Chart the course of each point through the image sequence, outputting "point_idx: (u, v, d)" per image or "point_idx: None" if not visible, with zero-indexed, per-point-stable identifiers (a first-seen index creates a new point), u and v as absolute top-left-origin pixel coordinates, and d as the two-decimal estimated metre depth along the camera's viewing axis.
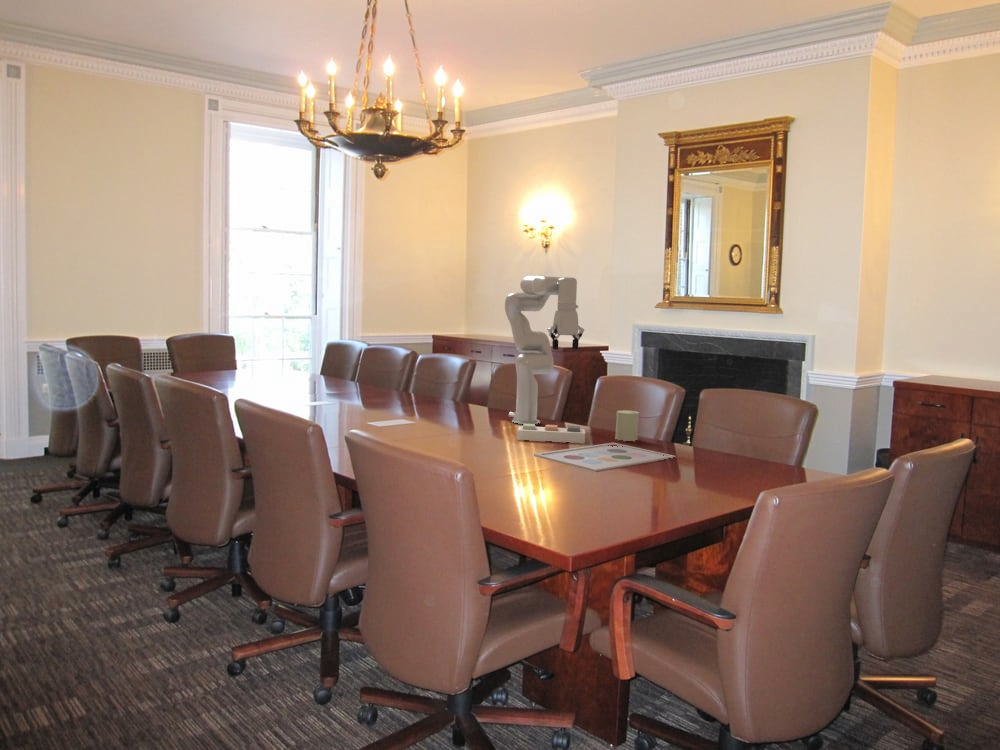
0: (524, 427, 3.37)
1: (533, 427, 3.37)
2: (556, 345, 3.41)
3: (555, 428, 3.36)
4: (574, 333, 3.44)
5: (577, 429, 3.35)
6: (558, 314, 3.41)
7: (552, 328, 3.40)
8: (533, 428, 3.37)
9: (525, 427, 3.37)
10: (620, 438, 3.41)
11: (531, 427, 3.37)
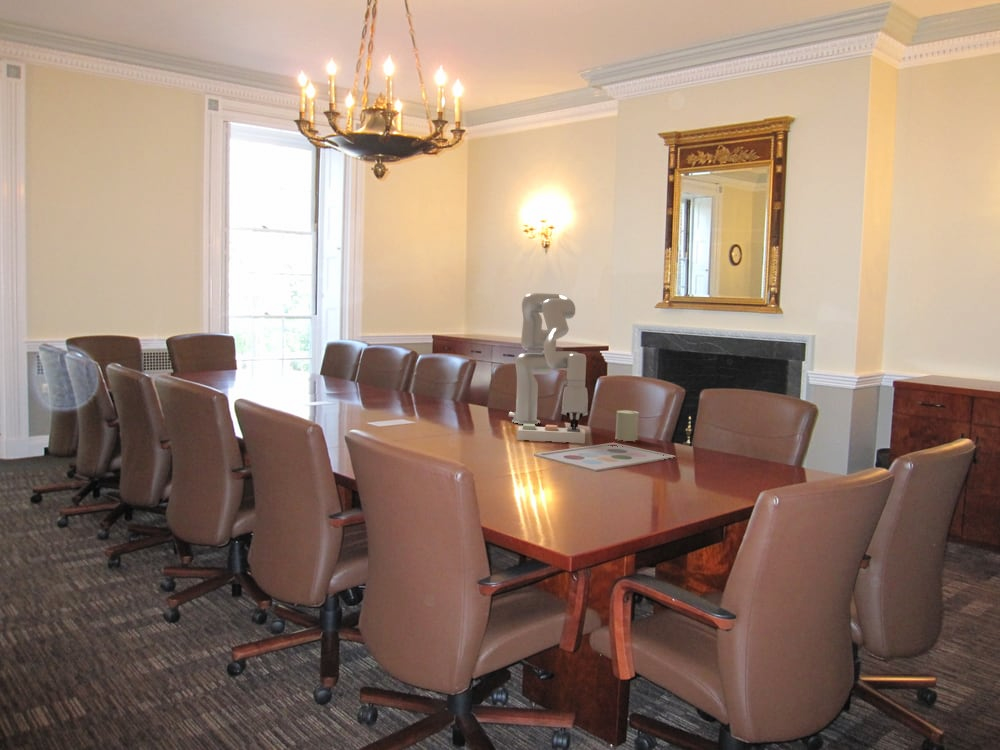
0: (524, 427, 3.37)
1: (533, 427, 3.37)
2: None
3: (555, 428, 3.36)
4: None
5: (577, 431, 3.36)
6: None
7: None
8: (533, 428, 3.37)
9: (525, 427, 3.37)
10: (620, 438, 3.41)
11: (531, 427, 3.37)
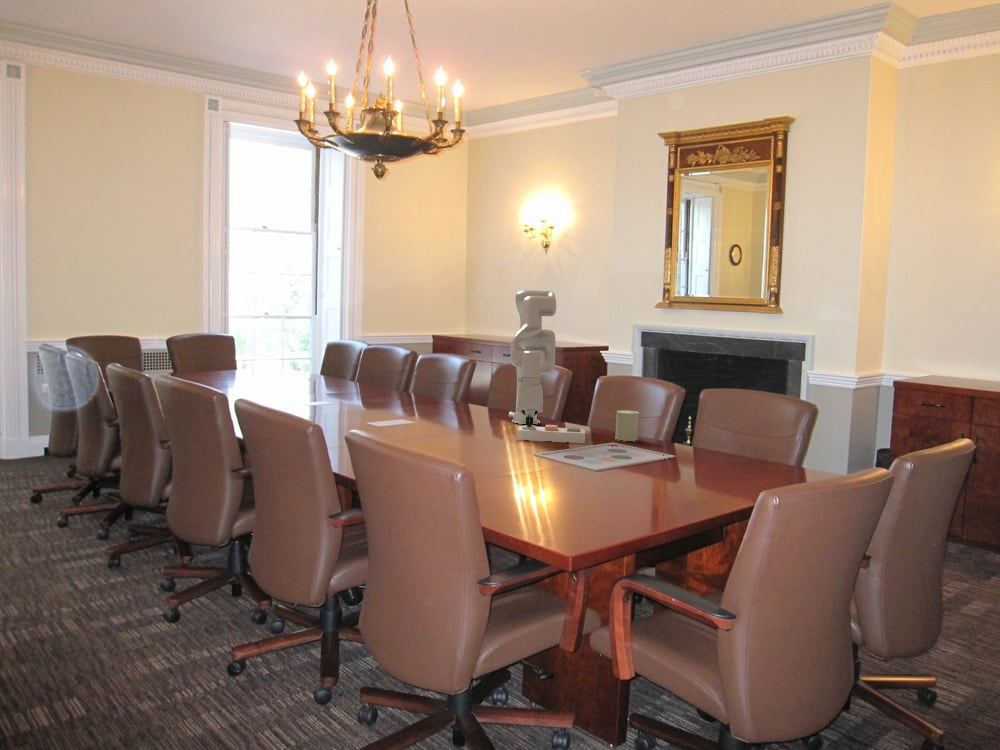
0: None
1: (533, 429, 3.37)
2: None
3: (555, 428, 3.36)
4: None
5: (577, 431, 3.36)
6: None
7: None
8: None
9: None
10: (620, 438, 3.41)
11: (531, 429, 3.37)
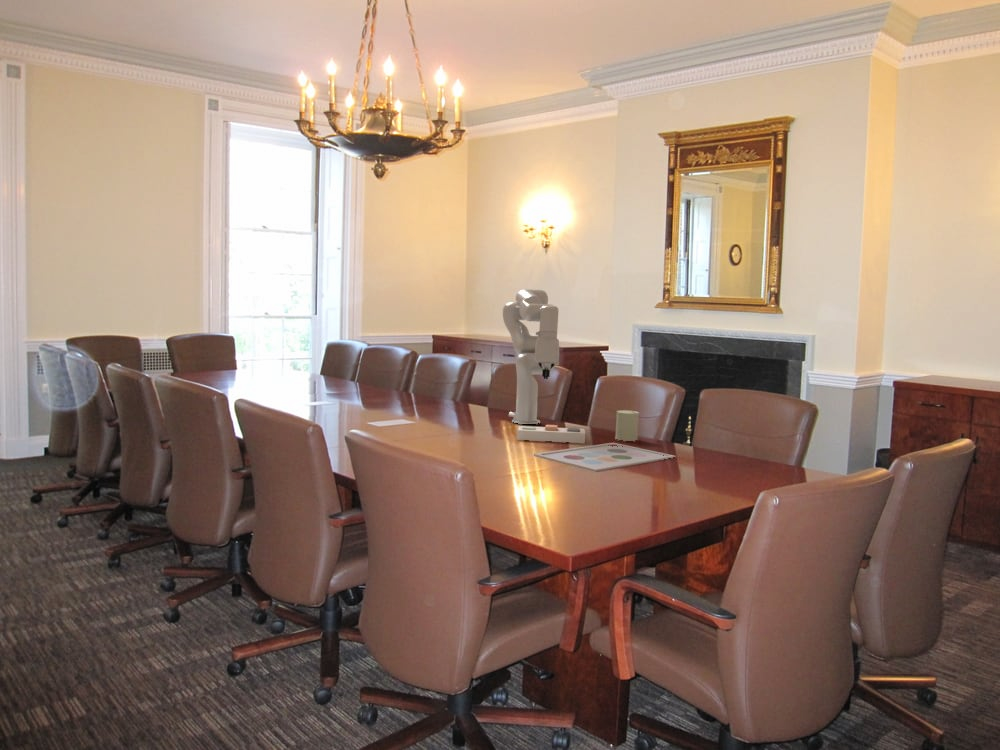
0: None
1: (533, 429, 3.37)
2: None
3: (555, 428, 3.36)
4: None
5: (577, 431, 3.36)
6: None
7: None
8: None
9: None
10: (620, 438, 3.41)
11: (531, 429, 3.37)
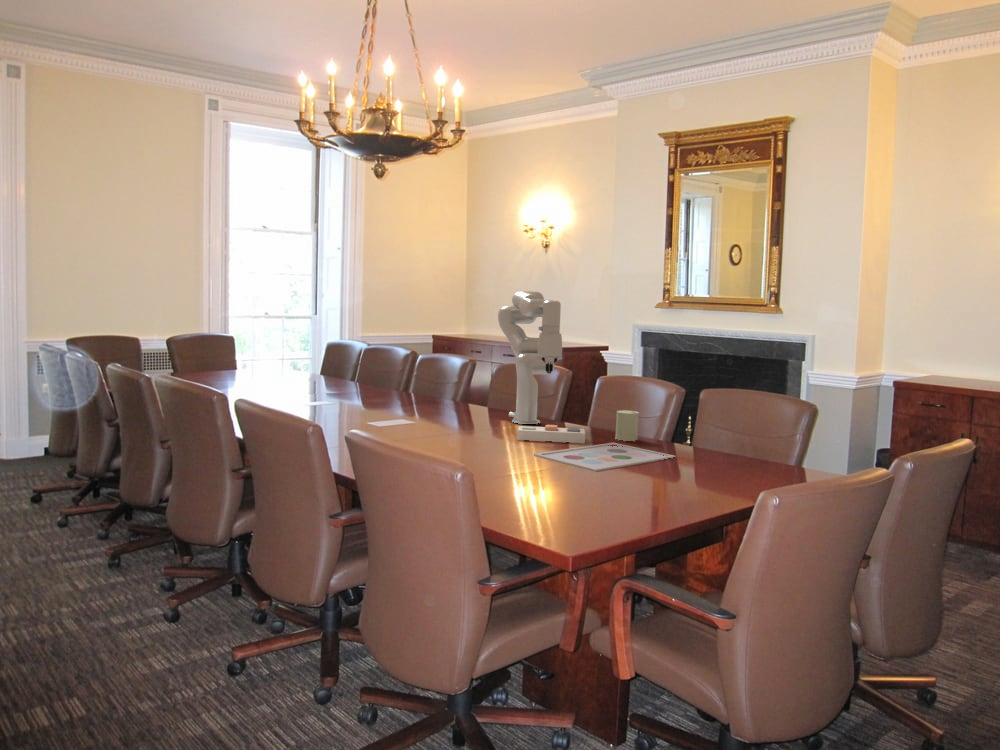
0: None
1: (533, 429, 3.37)
2: None
3: (555, 428, 3.36)
4: None
5: (577, 431, 3.36)
6: None
7: None
8: None
9: None
10: (620, 438, 3.41)
11: (531, 429, 3.37)
